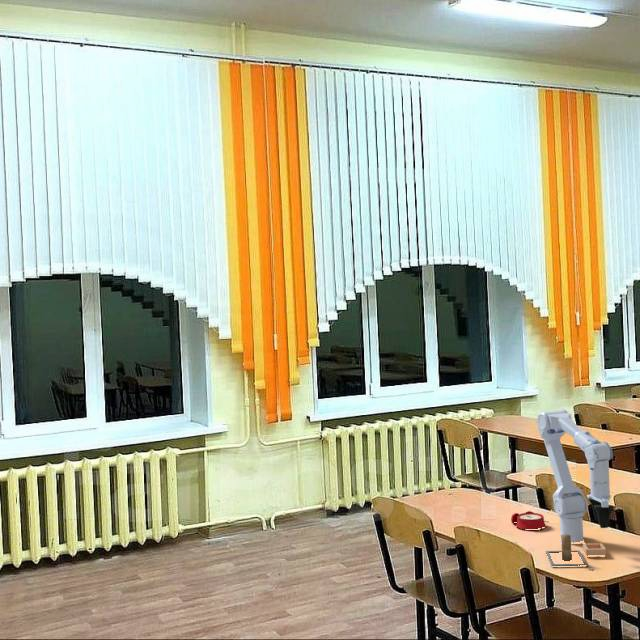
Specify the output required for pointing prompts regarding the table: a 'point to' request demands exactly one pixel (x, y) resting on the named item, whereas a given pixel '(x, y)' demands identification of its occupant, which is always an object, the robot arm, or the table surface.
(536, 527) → the alarm clock
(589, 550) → the wooden block with hole
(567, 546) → the dowel
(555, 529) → the table surface
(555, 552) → the grey rectangular frame
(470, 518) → the table surface
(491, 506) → the table surface
